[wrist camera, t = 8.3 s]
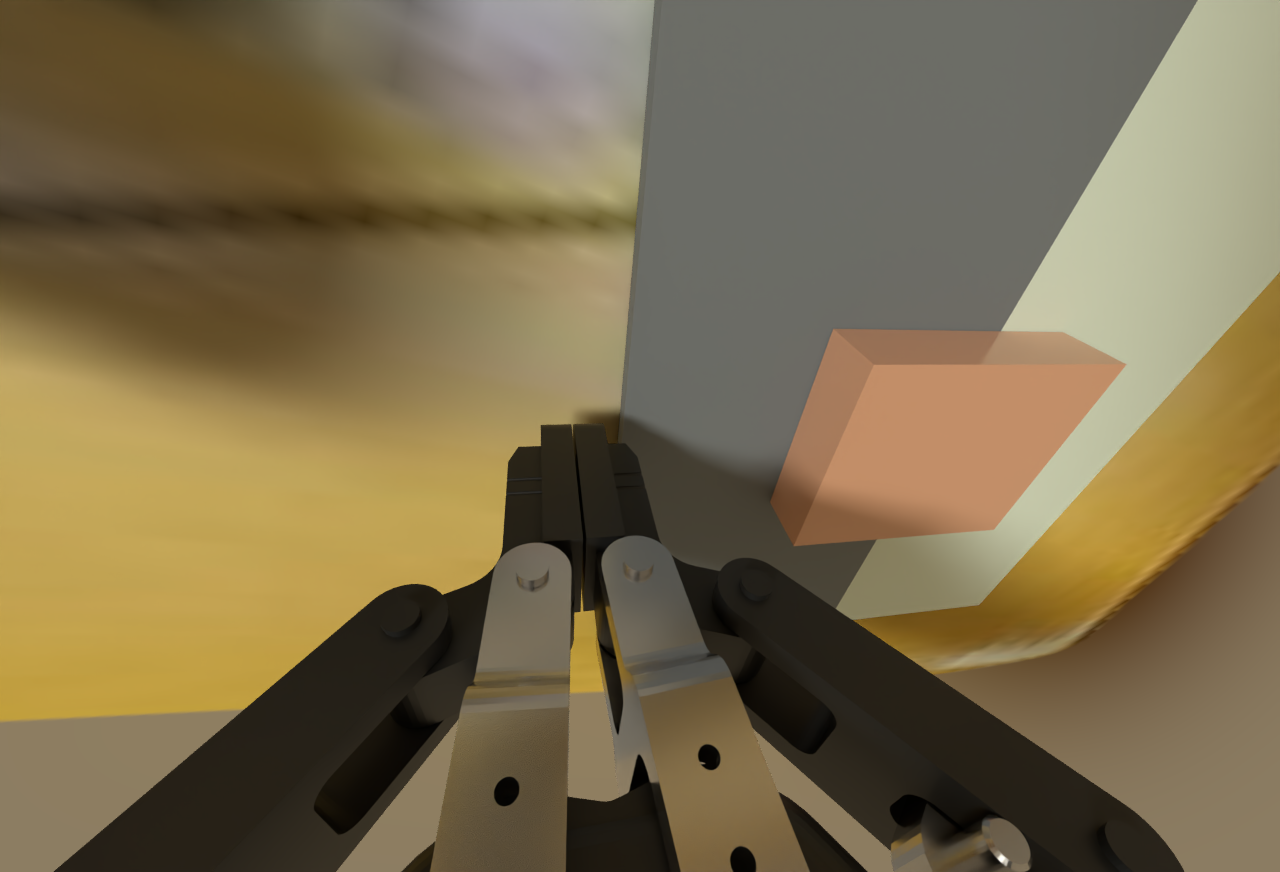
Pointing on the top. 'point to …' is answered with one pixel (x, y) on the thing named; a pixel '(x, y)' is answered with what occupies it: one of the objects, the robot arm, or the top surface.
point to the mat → (930, 237)
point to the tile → (931, 430)
